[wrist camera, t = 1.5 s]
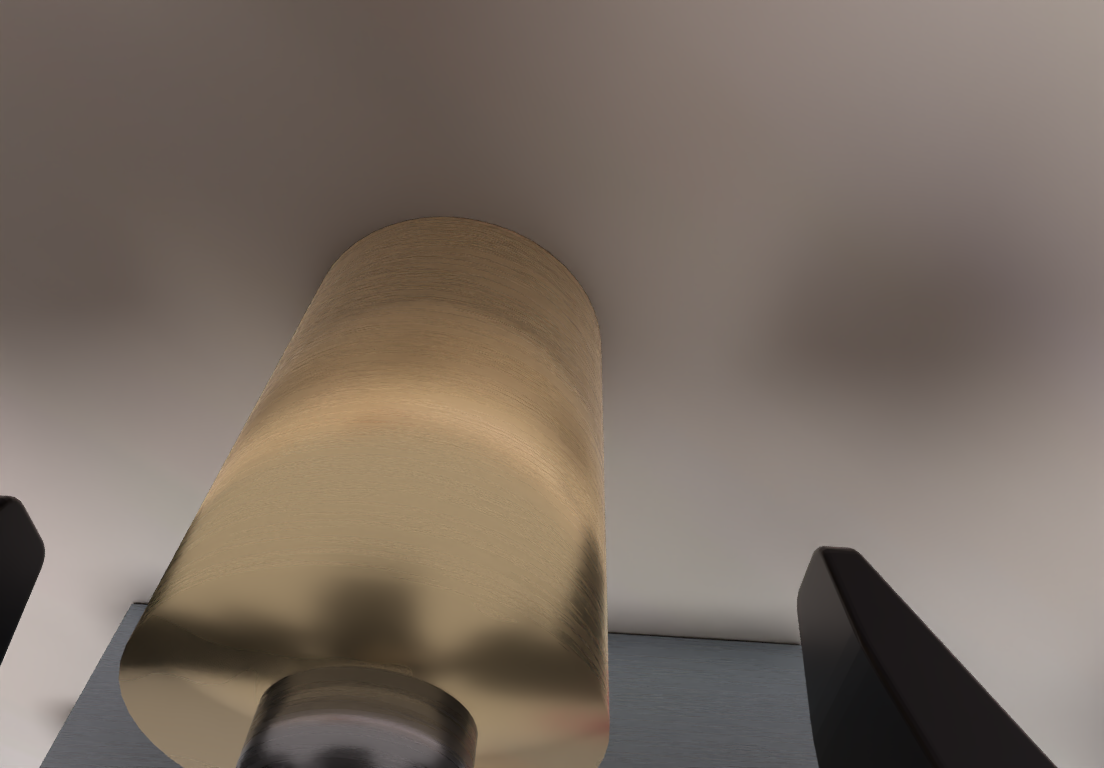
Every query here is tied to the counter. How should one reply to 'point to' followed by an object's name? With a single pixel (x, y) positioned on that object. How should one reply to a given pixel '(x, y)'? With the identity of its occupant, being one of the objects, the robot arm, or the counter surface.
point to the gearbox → (634, 707)
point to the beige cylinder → (400, 530)
